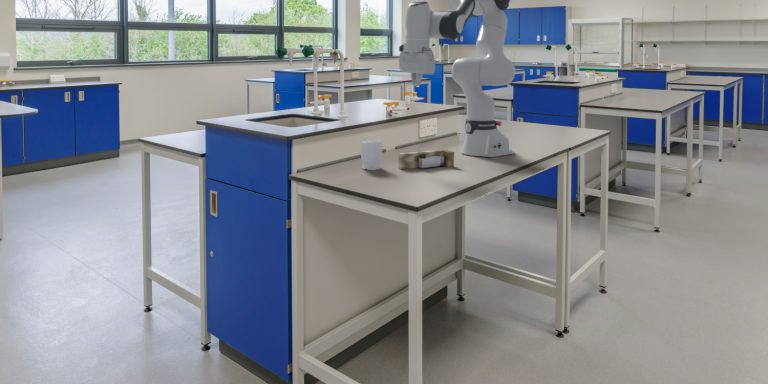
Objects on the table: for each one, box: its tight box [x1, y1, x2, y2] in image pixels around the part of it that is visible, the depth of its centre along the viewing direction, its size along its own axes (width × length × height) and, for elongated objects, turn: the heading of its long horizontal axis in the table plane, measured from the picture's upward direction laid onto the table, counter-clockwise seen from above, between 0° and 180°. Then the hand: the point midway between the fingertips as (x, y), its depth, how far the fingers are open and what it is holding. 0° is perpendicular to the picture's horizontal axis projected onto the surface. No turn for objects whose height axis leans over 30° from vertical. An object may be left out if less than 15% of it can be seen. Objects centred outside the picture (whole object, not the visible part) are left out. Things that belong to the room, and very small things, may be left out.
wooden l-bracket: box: [397, 148, 455, 170], centre depth 228 cm, size 20×6×6 cm, turn 118°
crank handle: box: [418, 153, 445, 169], centre depth 227 cm, size 11×3×5 cm, turn 123°
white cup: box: [360, 139, 383, 171], centre depth 224 cm, size 8×8×10 cm
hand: (416, 85), depth 230 cm, fingers closed
